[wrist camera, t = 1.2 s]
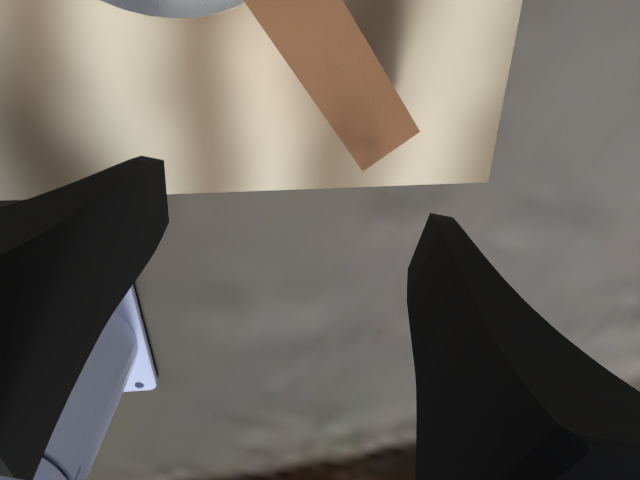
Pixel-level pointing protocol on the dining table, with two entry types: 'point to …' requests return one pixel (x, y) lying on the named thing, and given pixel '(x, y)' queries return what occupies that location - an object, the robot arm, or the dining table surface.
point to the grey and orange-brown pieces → (319, 66)
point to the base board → (239, 96)
